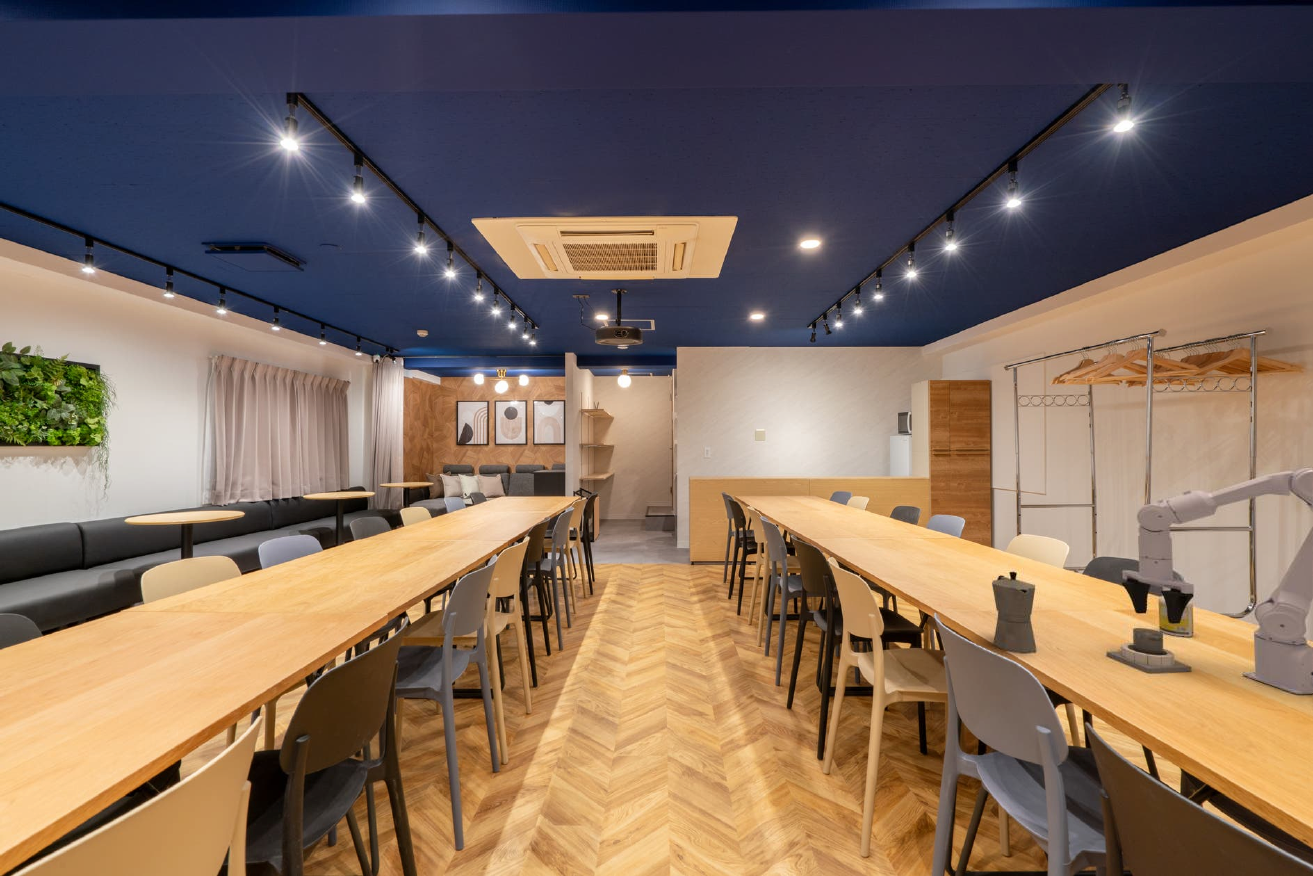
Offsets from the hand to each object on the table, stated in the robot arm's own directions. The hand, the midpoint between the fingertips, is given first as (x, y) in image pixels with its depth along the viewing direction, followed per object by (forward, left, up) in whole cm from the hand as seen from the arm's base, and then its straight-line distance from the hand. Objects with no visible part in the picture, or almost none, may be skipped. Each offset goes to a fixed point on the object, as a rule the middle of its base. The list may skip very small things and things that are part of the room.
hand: (1157, 618), depth 126 cm
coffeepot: (+12, +26, -10) cm, 30 cm away
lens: (-2, +4, -8) cm, 10 cm away
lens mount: (-2, +5, -9) cm, 11 cm away
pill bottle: (+16, -22, -10) cm, 29 cm away
